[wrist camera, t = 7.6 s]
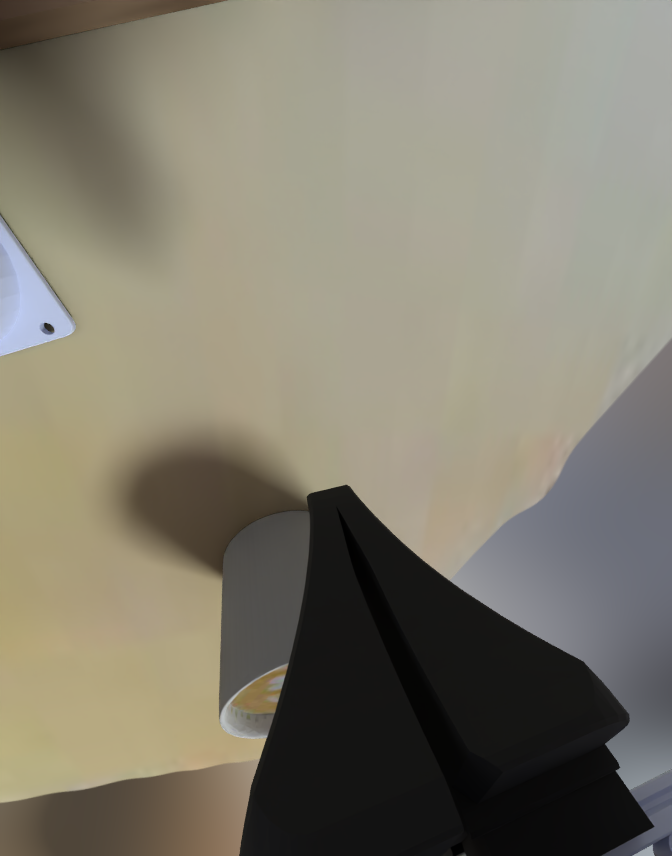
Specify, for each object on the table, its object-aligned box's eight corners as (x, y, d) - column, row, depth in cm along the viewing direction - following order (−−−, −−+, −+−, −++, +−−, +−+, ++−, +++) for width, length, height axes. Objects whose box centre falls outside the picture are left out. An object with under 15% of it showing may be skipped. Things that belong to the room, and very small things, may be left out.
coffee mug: (195, 570, 25) (177, 736, 17) (285, 490, 23) (314, 632, 15) (311, 612, 32) (337, 742, 24) (386, 553, 31) (442, 672, 23)
